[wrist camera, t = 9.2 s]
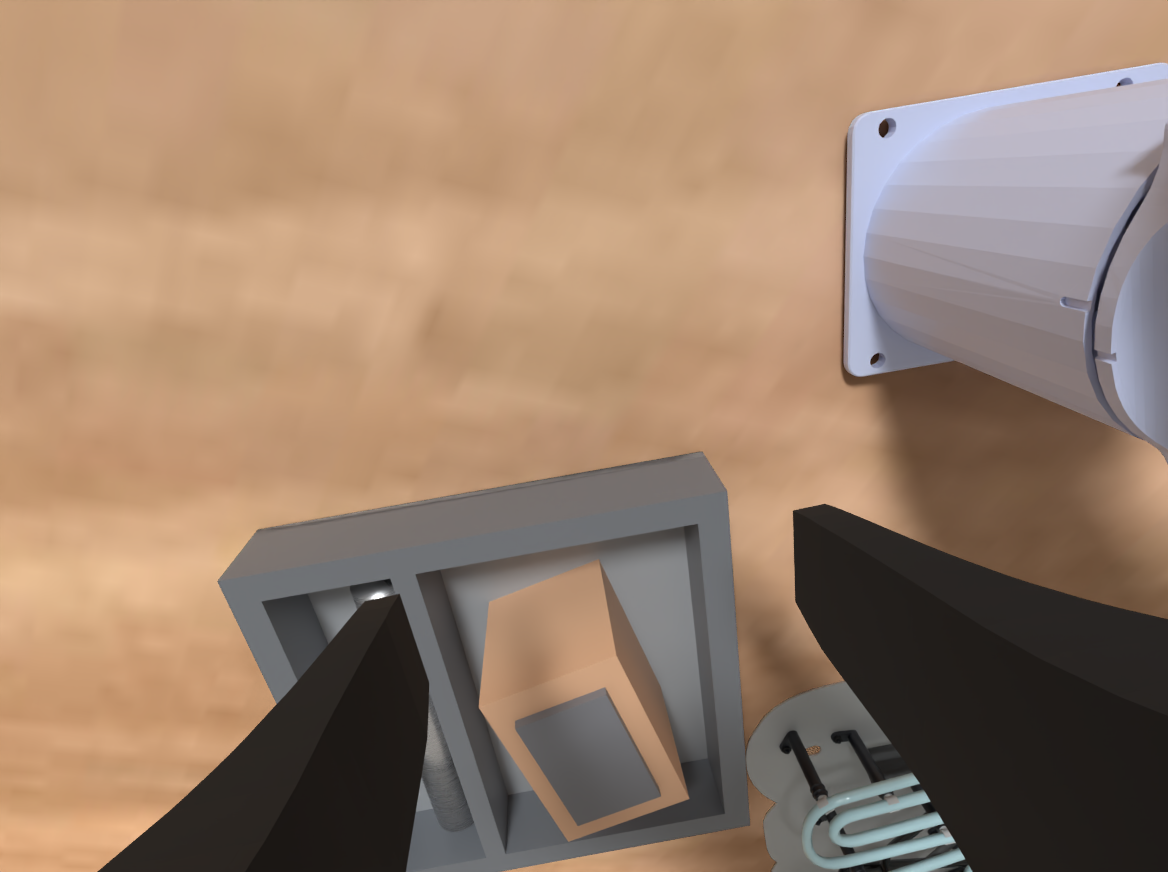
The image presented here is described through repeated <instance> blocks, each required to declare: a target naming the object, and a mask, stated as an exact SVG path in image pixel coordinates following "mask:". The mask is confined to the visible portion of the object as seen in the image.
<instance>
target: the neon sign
mask: <svg viewBox="0 0 1168 872" xmlns="http://www.w3.org/2000/svg"><path fill="white" fill-rule="evenodd" d="M815 745H816V746H820V751H819V752H818V753H816V754H811V755H808V753H807V751H806V748H809V747H811V746H815ZM746 767H747V772H748V775H749V778H750V779H751V781H752V783H753V785H754V786H755V787H756V788H757V789H758V790H759V791H760V792H761V793H762V794H763V795H764V796H766V797H767V798H769V799H771V800H772V801H774V802H776V803H775V804H774V805H773V806H772V807H771V808H770V809H769V811H768V812H767V813H766V815H765V817H764V820H763V828H764V835H765V840H766V846H767V850H768V853H769V855H770V857H771V858H772V859H773V860H775V861H776V863H775V865H774V866H773V868H772V870H771V872H972V870H971V868H970V866H969V865H968V863H967V861H966V860H965V858H964V856H963V854H962V853H961V851H960V849H959V847H958V846H957V844H956V842H955V841H954V839H953V837H952V836H951V834H950V832H949V831H948V829H947V828H946V826H945V824H944V823H943V821H942V819H941V818H940V816H939V814H938V813H937V811H936V809H935V808H934V806H933V805H932V803H931V801H930V800H929V798H928V796H927V795H926V793H925V791H924V790H923V788H922V786H921V785H920V783H919V782H918V780H917V779H916V777H915V776H914V775H913V773H912V772H911V770H910V769H909V767H908V766H907V764H906V763H905V761H904V760H903V758H902V757H901V756H900V754H899V753H898V752H897V750H896V749H895V748H894V746H893V745H892V744H891V742H890V741H889V740H888V738H887V737H886V735H885V734H884V733H883V731H882V730H881V729H880V727H879V726H878V725H877V723H876V722H875V721H874V719H873V718H872V717H871V715H870V714H869V713H868V711H867V710H866V709H865V707H864V706H863V705H862V703H861V702H860V701H859V699H858V698H857V697H856V695H855V694H854V693H853V691H852V690H851V688H850V687H849V686H848V684H847V683H846V682H845V681H841V682H837V683H833V684H829V685H825V686H821V687H817V688H814V689H811V690H808V691H805V692H802V693H799V694H797V695H795V696H793V697H791V698H788V699H787V700H785V701H783V702H782V703H780V704H778V705H777V706H775V707H774V708H773V709H772V710H771V711H770V712H768V713H767V714H766V715H765V716H764V717H763V718H762V720H761V721H760V723H759V724H758V726H757V727H756V729H755V730H754V731H753V733H752V735H751V737H750V739H749V741H748V745H747V749H746Z"/></svg>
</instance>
